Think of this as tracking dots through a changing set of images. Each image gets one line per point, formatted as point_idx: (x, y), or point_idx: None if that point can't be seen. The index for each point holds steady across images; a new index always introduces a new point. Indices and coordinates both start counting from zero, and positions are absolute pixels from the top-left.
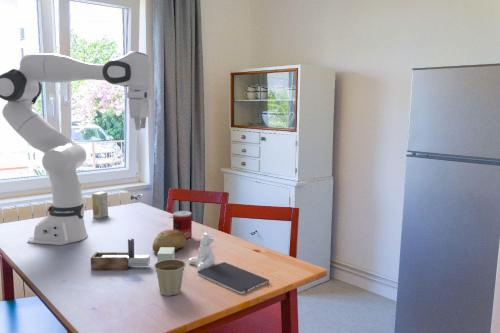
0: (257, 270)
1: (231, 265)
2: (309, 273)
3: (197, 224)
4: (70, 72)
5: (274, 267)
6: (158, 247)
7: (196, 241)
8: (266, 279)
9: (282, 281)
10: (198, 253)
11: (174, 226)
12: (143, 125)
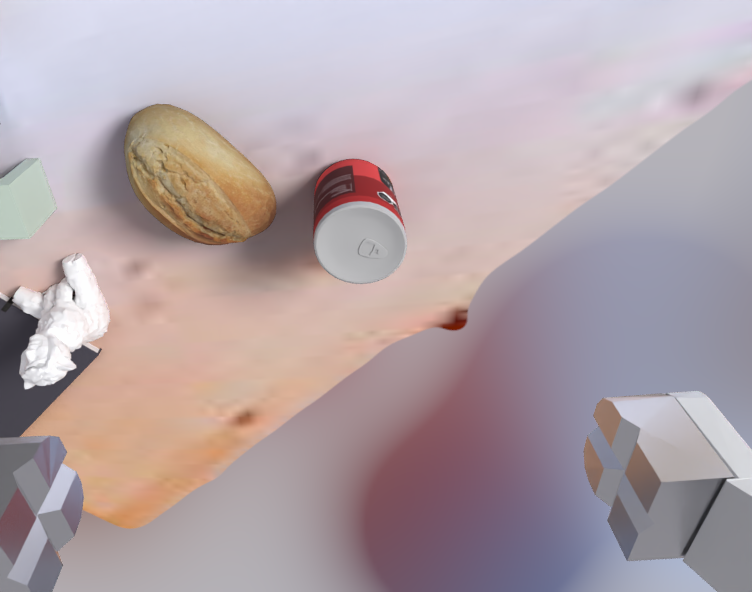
0: (84, 422)
1: (75, 373)
2: (101, 510)
3: (547, 227)
4: None
5: (118, 454)
6: (124, 142)
7: None
8: None
9: None
10: (56, 306)
11: (327, 190)
12: (621, 503)
